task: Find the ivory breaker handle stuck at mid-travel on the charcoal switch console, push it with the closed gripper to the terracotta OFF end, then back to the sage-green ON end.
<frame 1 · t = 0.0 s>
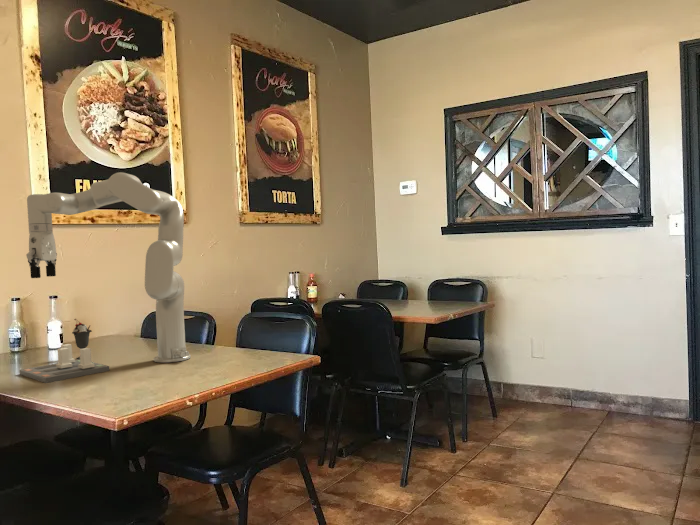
hand: (43, 277, 209), 31 cm above the table, tool pointing down, fingers open, 9 cm apart
breaker near: (85, 357, 191), point 5 cm above the table, slide at 8.0 cm
sundae: (83, 358, 219), on the table
breaker mid: (63, 357, 193), point 5 cm above the table, slide at 4.0 cm
console: (64, 372, 193), on the table
breaker far: (66, 353, 201), point 5 cm above the table, slide at 8.0 cm
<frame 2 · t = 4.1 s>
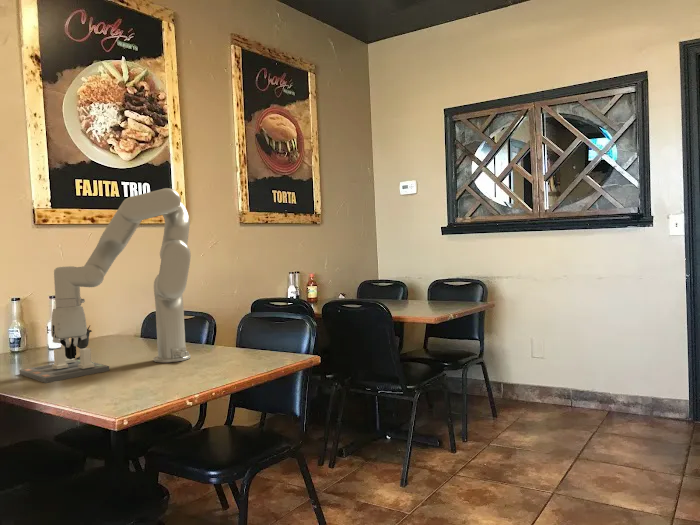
hand: (71, 358, 195), 4 cm above the table, tool pointing down, fingers closed
breaker mid: (59, 358, 192), point 5 cm above the table, slide at 2.7 cm, touching gripper
everything else where it was.
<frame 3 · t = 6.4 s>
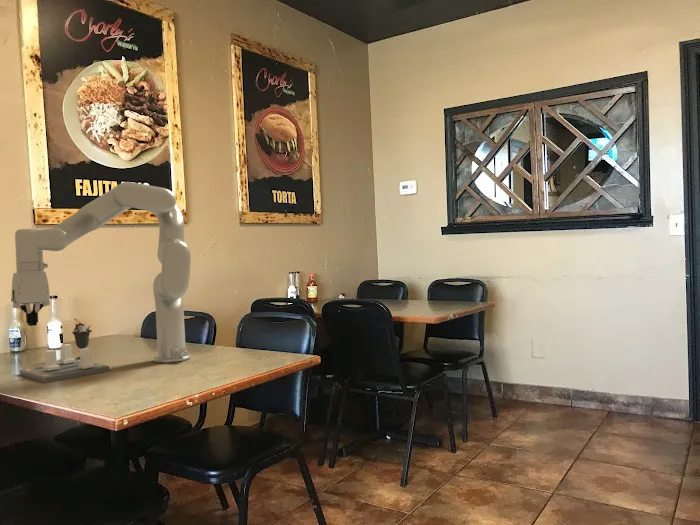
hand: (32, 325, 186), 17 cm above the table, tool pointing down, fingers closed
breaker mid: (50, 359, 190), point 5 cm above the table, slide at 0.0 cm
everything else where it was.
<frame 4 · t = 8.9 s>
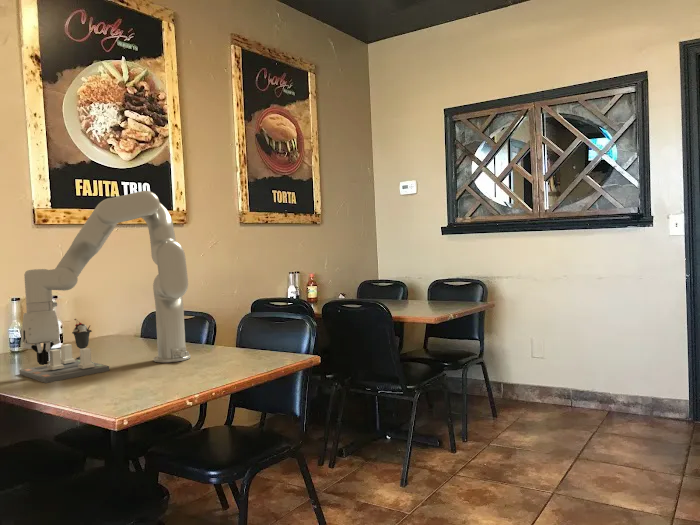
hand: (43, 364, 189), 4 cm above the table, tool pointing down, fingers closed
breaker mid: (55, 359, 191), point 5 cm above the table, slide at 1.3 cm, touching gripper
everything else where it was.
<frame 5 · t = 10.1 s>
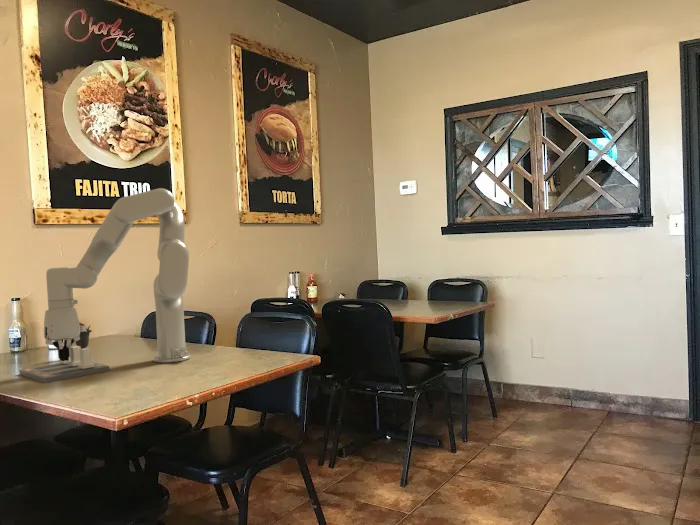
hand: (64, 360, 193), 4 cm above the table, tool pointing down, fingers closed
breaker mid: (75, 355, 196), point 5 cm above the table, slide at 7.9 cm, touching gripper
everything else where it was.
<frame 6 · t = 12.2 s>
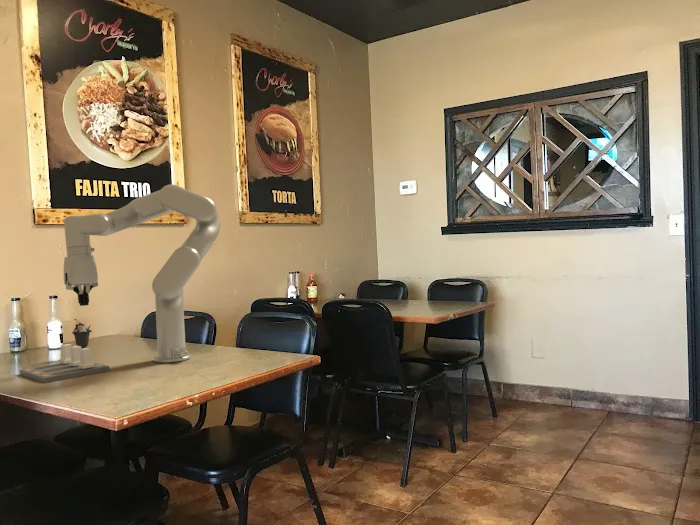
hand: (84, 305, 201), 21 cm above the table, tool pointing down, fingers closed
breaker mid: (76, 355, 196), point 5 cm above the table, slide at 8.1 cm
everything else where it was.
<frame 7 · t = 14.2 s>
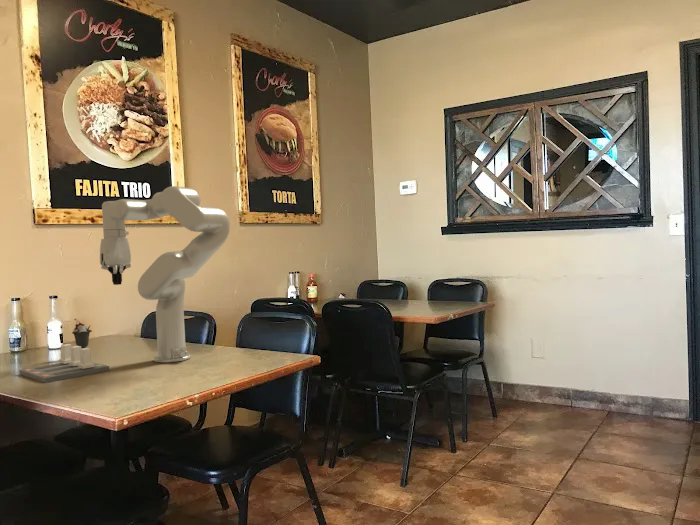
hand: (117, 284, 216), 27 cm above the table, tool pointing down, fingers closed
nothing on the table moved.
at the end: breaker mid slide at 8.1 cm; breaker near slide at 8.0 cm; breaker far slide at 8.0 cm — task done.
